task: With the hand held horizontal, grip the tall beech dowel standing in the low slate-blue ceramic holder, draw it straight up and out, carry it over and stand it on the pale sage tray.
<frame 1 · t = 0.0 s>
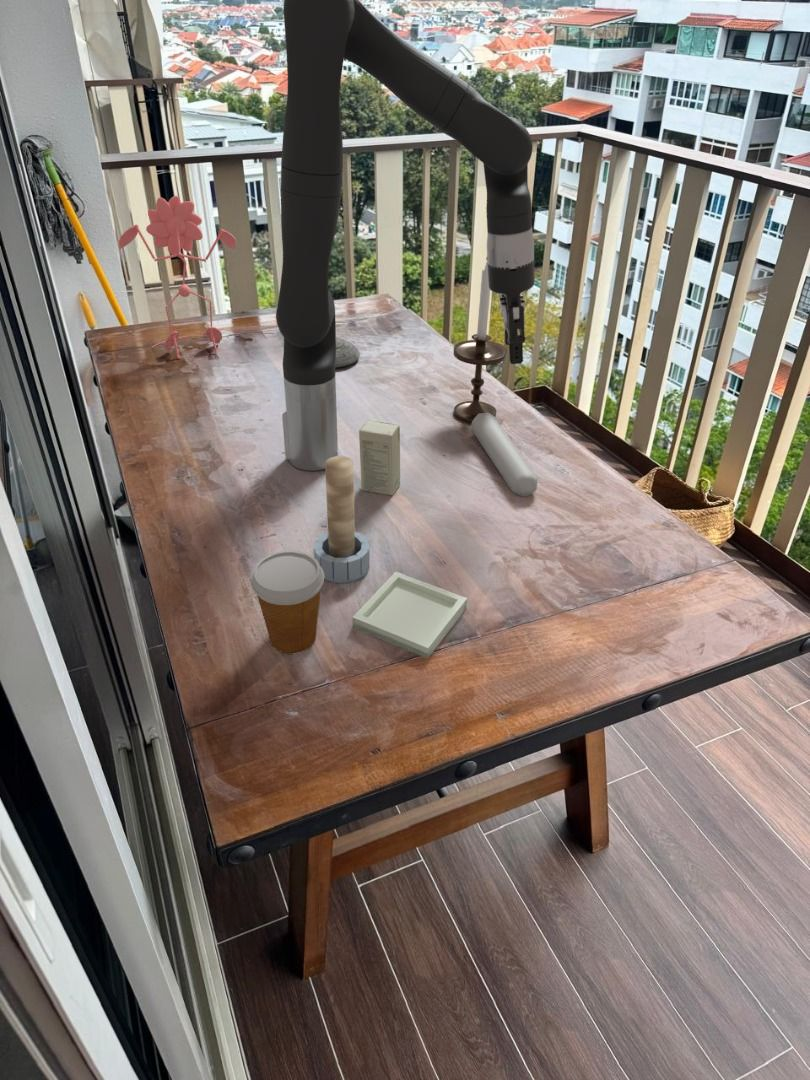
hand: (513, 353, 131), 22 cm above the table, tool pointing down, fingers open, 8 cm apart
holder: (342, 566, 118), on the table
candlestick: (474, 414, 162), on the table
flying saucer: (329, 360, 184), on the table
tube: (503, 466, 145), on the table
figurine: (192, 347, 188), on the table
tray: (410, 617, 108), on the table
skincare box: (380, 488, 137), on the table
disposable coffee cup: (293, 639, 105), on the table
dowel: (342, 563, 117), point 1 cm above the table, touching holder
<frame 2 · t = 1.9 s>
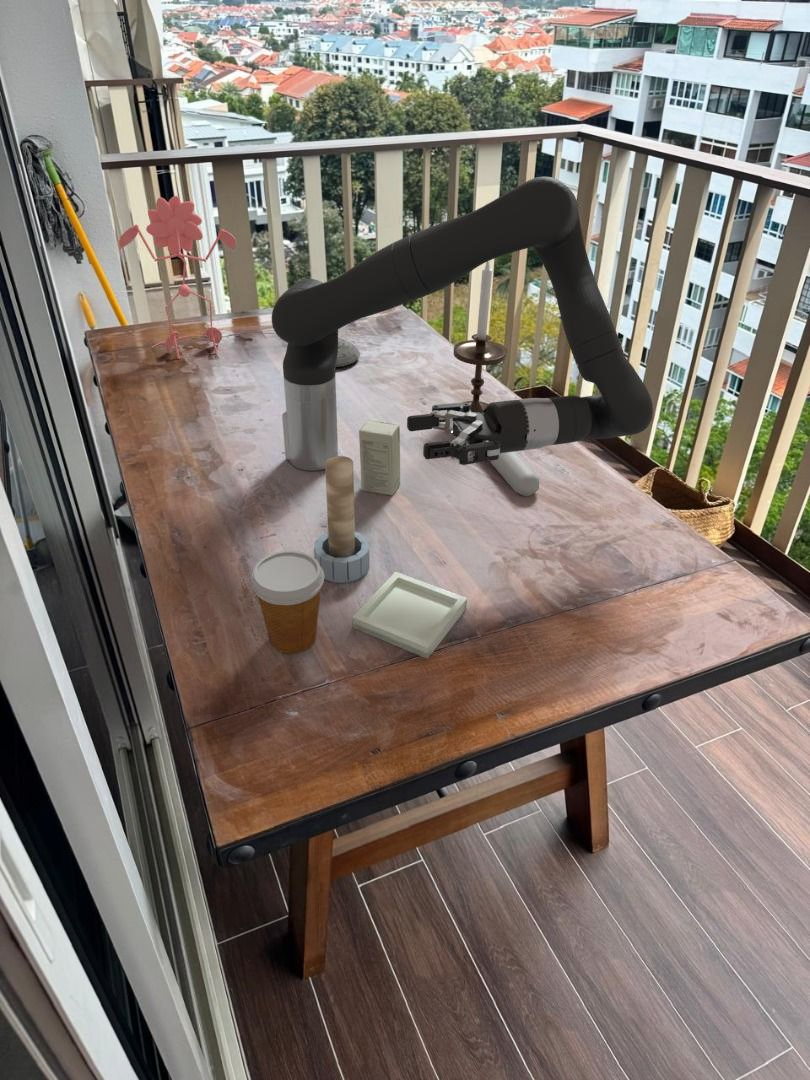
hand: (415, 437, 108), 21 cm above the table, tool horizontal, fingers open, 8 cm apart
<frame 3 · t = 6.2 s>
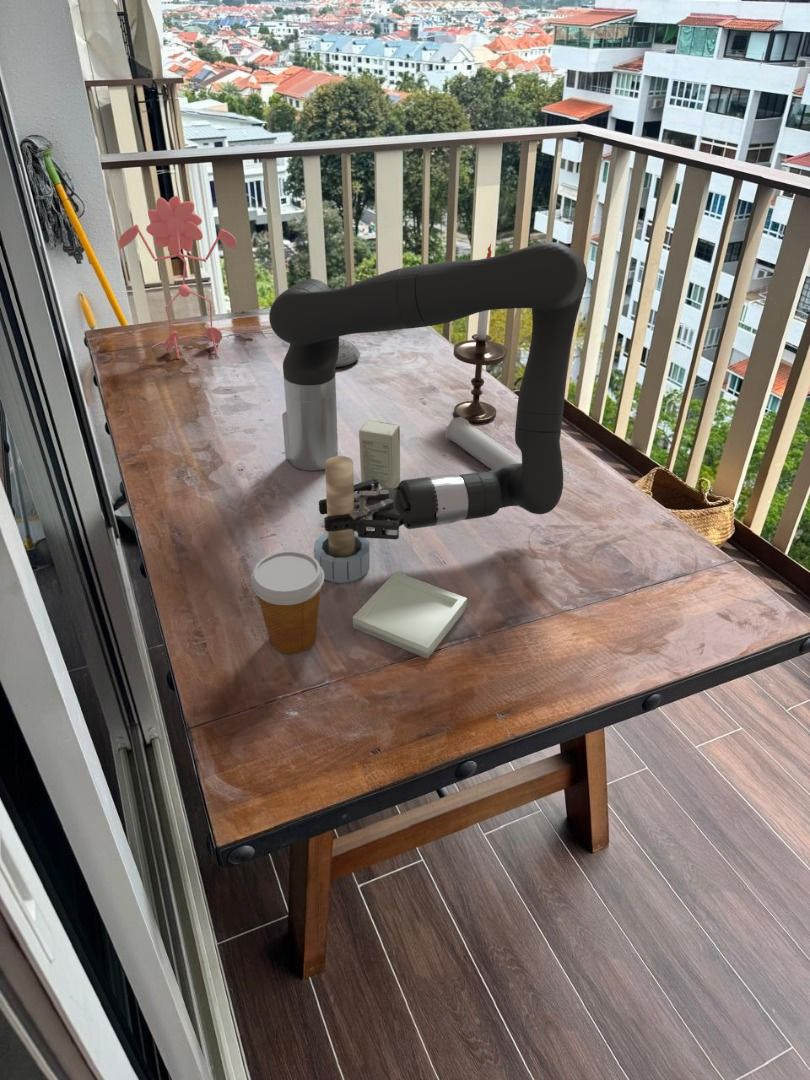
hand: (322, 515, 111), 10 cm above the table, tool horizontal, fingers closed on dowel, 4 cm apart
tube: (493, 467, 144), on the table
dowel: (342, 563, 117), point 1 cm above the table, touching gripper, holder
everything else where it was.
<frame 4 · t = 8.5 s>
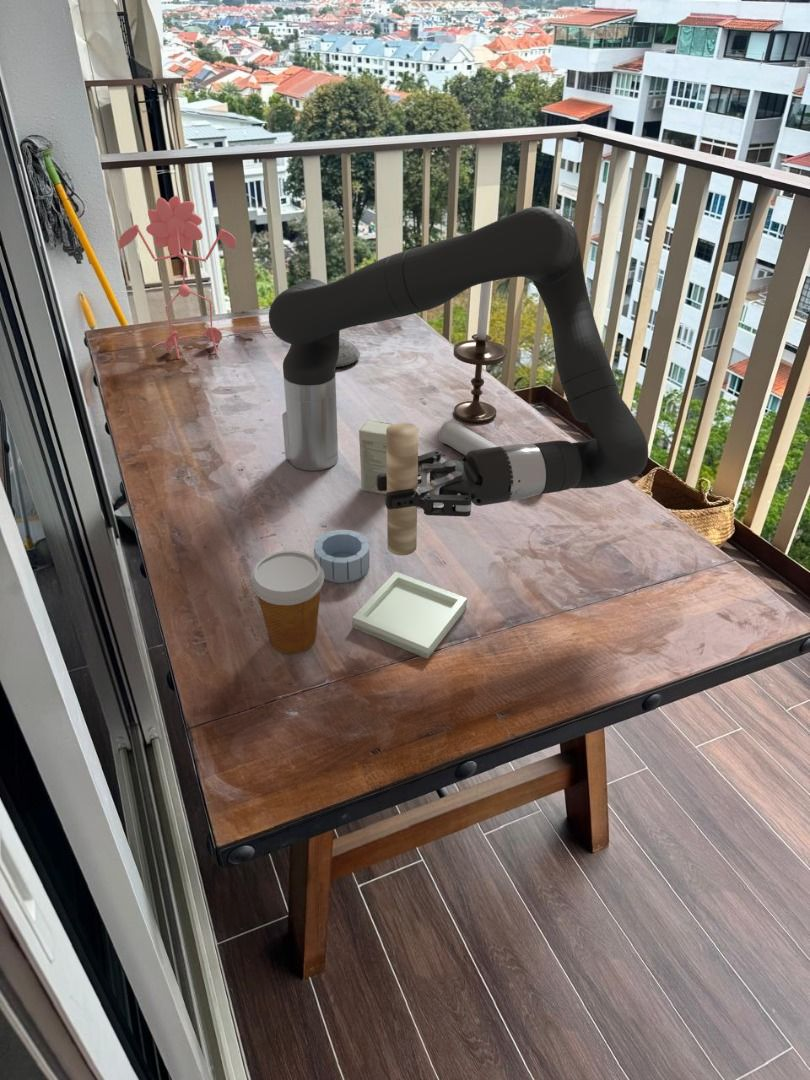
hand: (382, 492, 98), 20 cm above the table, tool horizontal, fingers closed on dowel, 4 cm apart
dowel: (402, 546, 104), point 11 cm above the table, touching gripper
when the fingers open (12 cm above the table, at t = 10.7 s): dowel drops 1 cm, resting on tray.
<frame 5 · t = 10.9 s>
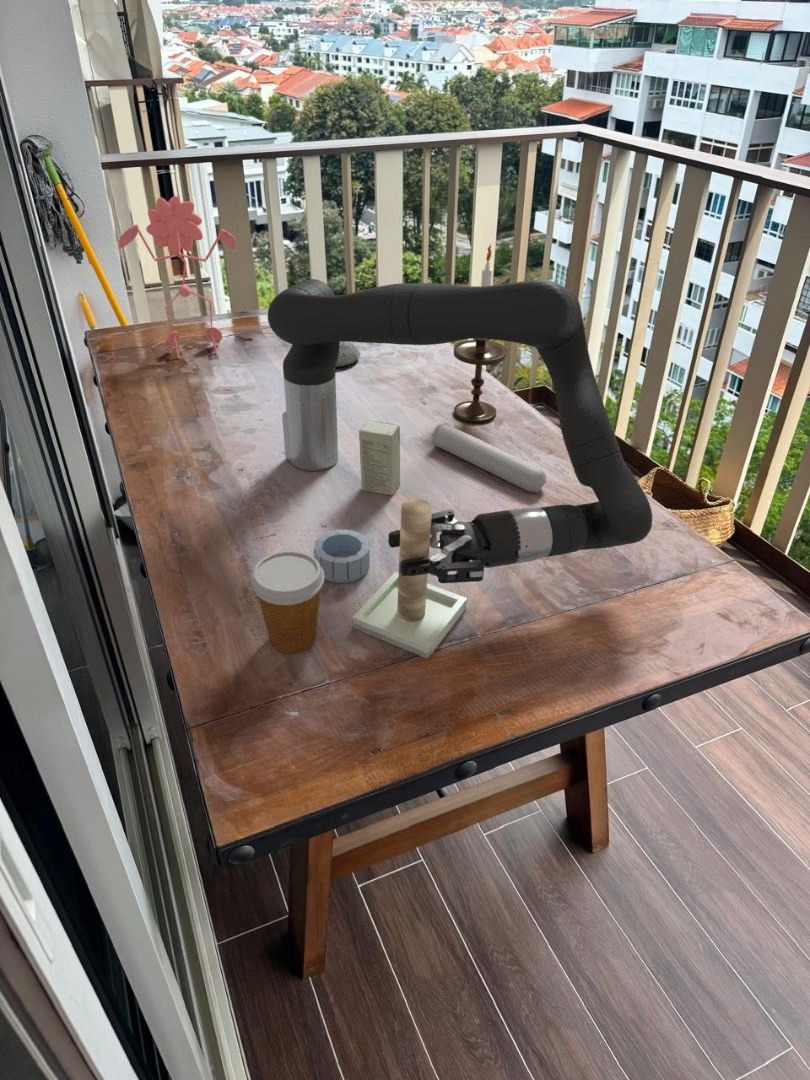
hand: (395, 554, 101), 12 cm above the table, tool horizontal, fingers open, 6 cm apart
dowel: (411, 612, 108), point 1 cm above the table, touching tray
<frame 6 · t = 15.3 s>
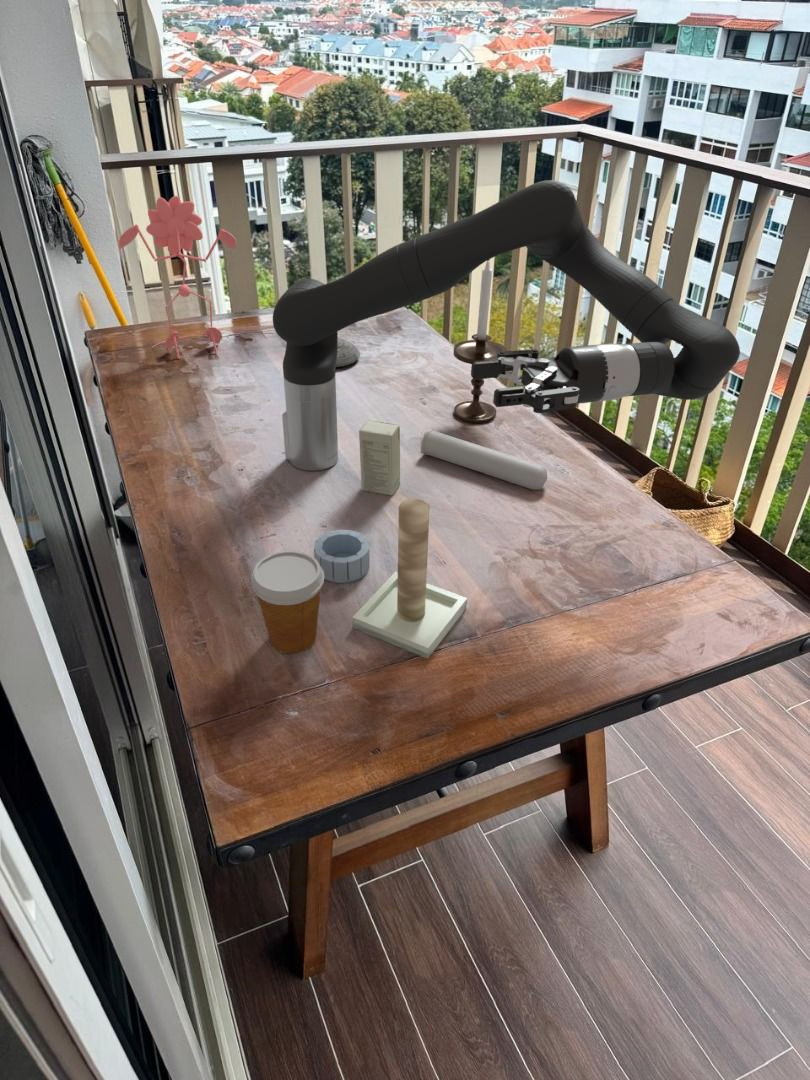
hand: (482, 384, 98), 32 cm above the table, tool horizontal, fingers open, 8 cm apart
tube: (483, 472, 143), on the table
everything else where it was.
at the end: dowel inside the target area on the tray (0.1 cm from its centre), point 1.0 cm above the tray's base; dowel tilted 0°; the gripper is holding nothing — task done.
